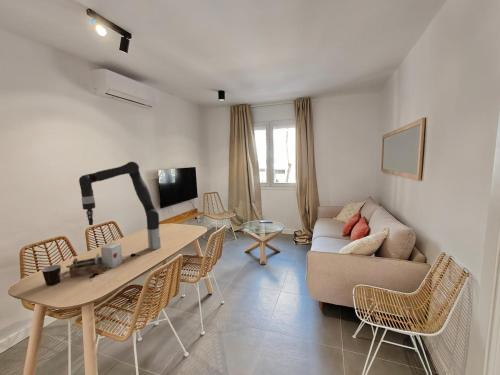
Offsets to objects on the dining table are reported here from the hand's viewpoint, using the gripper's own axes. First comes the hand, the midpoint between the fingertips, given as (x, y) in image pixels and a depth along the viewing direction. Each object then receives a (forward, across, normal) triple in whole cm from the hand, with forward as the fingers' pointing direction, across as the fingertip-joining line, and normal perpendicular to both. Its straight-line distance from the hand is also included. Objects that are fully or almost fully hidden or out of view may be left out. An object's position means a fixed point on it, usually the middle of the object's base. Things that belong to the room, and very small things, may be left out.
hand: (91, 223), depth 163 cm
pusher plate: (+28, -16, +7) cm, 33 cm away
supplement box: (+29, -18, -10) cm, 35 cm away
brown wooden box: (+28, -17, +2) cm, 33 cm away
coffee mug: (+28, -26, +22) cm, 44 cm away
